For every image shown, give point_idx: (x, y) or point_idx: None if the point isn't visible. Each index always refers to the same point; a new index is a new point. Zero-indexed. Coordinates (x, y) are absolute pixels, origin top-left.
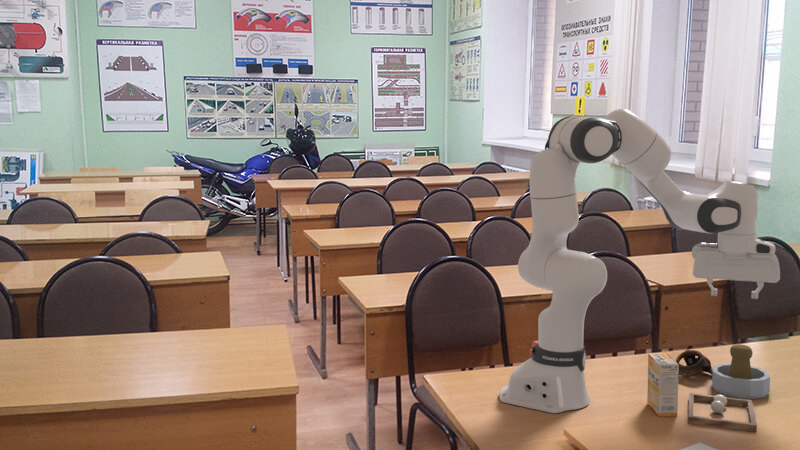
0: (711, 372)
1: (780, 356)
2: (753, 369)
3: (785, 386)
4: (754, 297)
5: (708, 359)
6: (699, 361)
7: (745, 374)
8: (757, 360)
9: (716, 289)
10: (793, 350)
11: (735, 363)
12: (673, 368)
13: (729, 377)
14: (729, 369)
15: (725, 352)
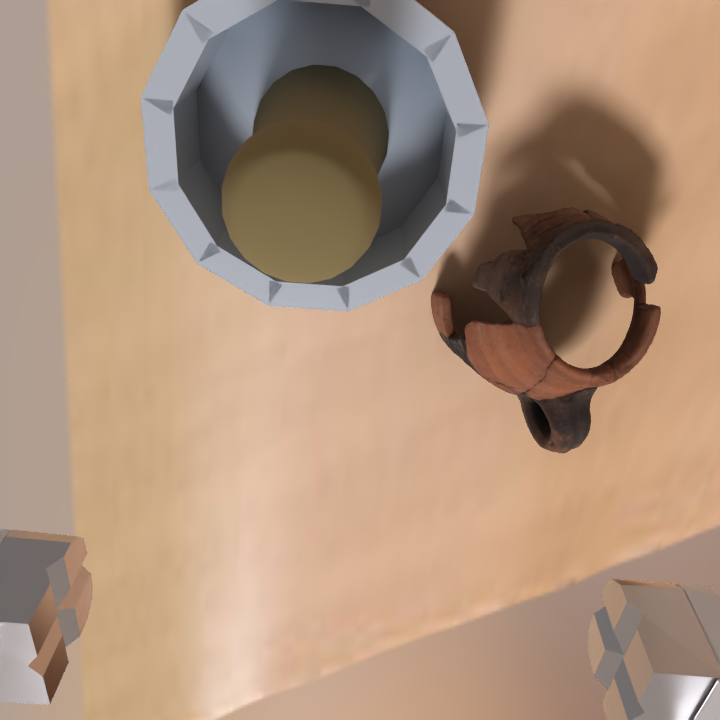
0: (449, 298)
1: (126, 607)
2: (235, 253)
3: (96, 248)
4: (26, 540)
5: (477, 329)
6: (549, 256)
7: (289, 98)
8: (215, 550)
9: (660, 691)
10: (82, 670)
11: (348, 134)
12: None
13: (399, 5)
14: (365, 265)
15: (336, 610)
